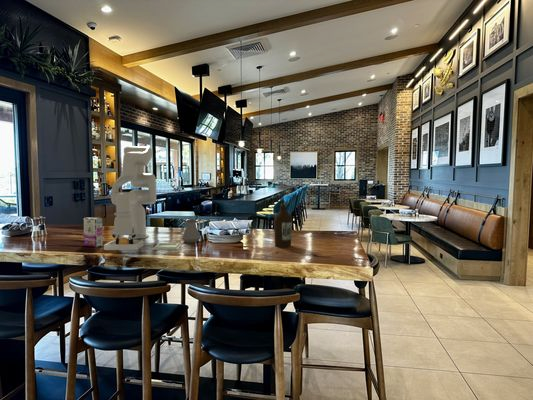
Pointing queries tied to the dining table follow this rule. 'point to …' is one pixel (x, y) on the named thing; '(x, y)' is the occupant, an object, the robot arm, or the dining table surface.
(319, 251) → the dining table surface
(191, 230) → the coffee pot
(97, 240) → the candy bar box
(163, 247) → the tray
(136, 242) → the shallow white tray
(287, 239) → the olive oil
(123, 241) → the ball
